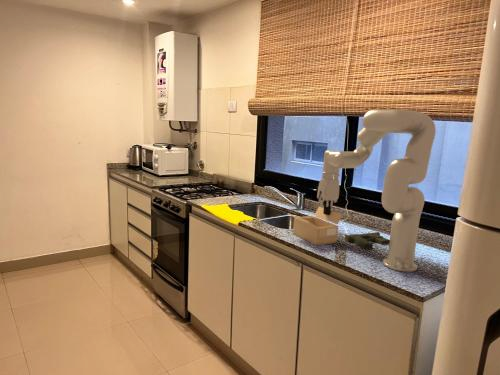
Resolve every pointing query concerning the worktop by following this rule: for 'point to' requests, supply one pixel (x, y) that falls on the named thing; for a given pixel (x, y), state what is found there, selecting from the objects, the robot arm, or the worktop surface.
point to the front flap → (302, 220)
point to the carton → (315, 230)
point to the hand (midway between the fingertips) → (326, 214)
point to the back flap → (333, 216)
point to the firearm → (366, 239)
